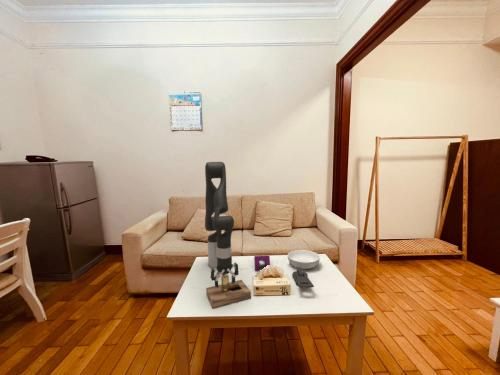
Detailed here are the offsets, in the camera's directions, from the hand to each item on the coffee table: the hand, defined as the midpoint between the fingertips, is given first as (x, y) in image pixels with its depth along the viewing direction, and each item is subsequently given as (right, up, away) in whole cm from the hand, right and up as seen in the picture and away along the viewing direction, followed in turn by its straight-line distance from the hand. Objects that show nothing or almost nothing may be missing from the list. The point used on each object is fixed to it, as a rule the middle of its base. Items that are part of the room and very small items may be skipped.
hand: (225, 285), depth 121 cm
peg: (0, -6, +1) cm, 6 cm away
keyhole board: (+2, -7, +1) cm, 7 cm away
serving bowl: (+48, -2, +36) cm, 60 cm away
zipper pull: (+42, -5, +12) cm, 44 cm away
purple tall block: (+21, -3, +37) cm, 43 cm away
